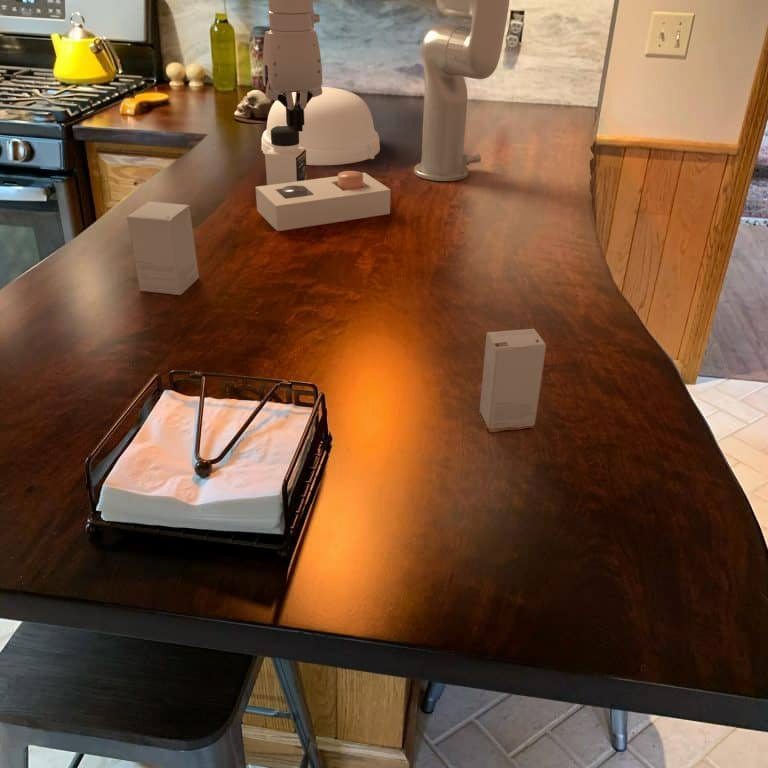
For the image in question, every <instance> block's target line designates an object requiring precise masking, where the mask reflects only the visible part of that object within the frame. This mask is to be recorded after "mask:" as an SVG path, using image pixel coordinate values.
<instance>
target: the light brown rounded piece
mask: <svg viewBox="0 0 768 768" xmlns="http://www.w3.org/2000/svg"><path fill="white" fill-rule="evenodd" d="M362 173H363V172H360V171H357V170H344V171H341V172H339V173H337V176H338V187H339V188H340V189H341V190H343V191H345V190H353V189H360V188H363V174H362Z"/></svg>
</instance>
